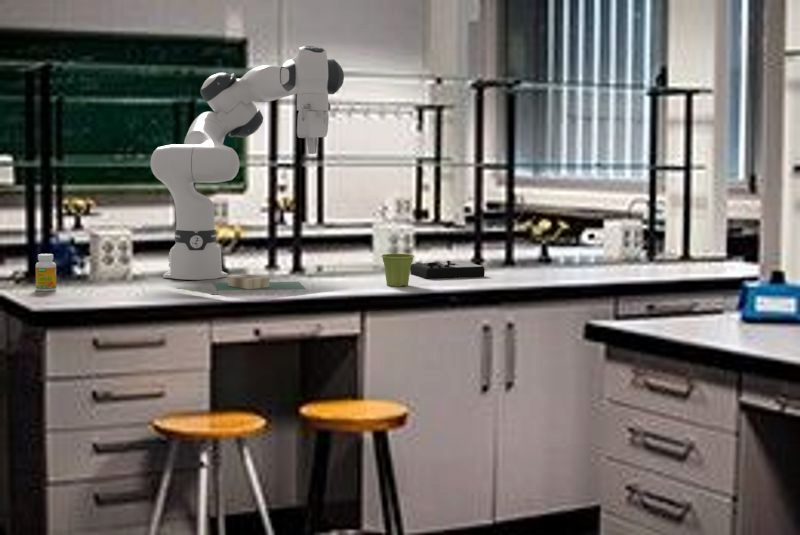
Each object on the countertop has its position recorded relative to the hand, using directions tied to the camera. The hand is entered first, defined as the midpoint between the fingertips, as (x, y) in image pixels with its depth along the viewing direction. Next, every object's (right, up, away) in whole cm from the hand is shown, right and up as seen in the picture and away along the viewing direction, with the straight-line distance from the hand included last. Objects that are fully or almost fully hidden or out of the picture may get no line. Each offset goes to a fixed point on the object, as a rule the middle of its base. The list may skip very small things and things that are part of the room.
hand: (312, 153), depth 366 cm
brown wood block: (-14, -36, -10) cm, 40 cm away
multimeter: (+39, -35, +28) cm, 60 cm away
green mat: (-14, -38, -10) cm, 42 cm away
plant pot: (+24, -37, +4) cm, 45 cm away
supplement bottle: (-71, -38, -15) cm, 82 cm away
